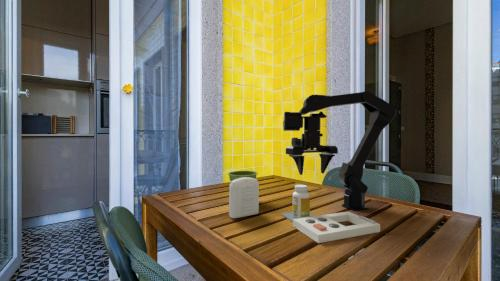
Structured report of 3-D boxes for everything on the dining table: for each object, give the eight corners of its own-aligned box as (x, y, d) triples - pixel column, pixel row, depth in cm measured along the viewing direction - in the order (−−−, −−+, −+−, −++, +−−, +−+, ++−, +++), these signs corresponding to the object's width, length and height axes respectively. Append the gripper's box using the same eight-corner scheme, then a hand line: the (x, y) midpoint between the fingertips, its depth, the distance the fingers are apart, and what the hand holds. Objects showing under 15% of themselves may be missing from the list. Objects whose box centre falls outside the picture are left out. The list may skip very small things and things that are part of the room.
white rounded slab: (253, 210, 86) (253, 175, 86) (260, 214, 82) (260, 176, 82) (227, 216, 80) (226, 178, 80) (233, 220, 77) (233, 180, 76)
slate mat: (304, 211, 85) (304, 210, 85) (321, 220, 76) (321, 219, 76) (281, 214, 82) (281, 213, 82) (295, 224, 73) (295, 222, 73)
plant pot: (240, 195, 106) (240, 169, 106) (263, 200, 99) (263, 172, 99) (221, 202, 97) (221, 173, 96) (245, 207, 90) (245, 176, 89)
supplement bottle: (311, 214, 80) (311, 184, 80) (307, 220, 75) (308, 188, 75) (294, 212, 82) (295, 183, 82) (290, 217, 78) (290, 186, 77)
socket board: (348, 217, 79) (348, 209, 79) (380, 231, 67) (380, 222, 67) (292, 225, 72) (292, 217, 72) (318, 243, 60) (318, 232, 60)
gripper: (320, 131, 100) (319, 169, 101) (278, 130, 94) (278, 172, 94) (339, 130, 90) (338, 173, 90) (293, 130, 83) (293, 177, 84)
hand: (311, 174), depth 90 cm, fingers open, 9 cm apart
